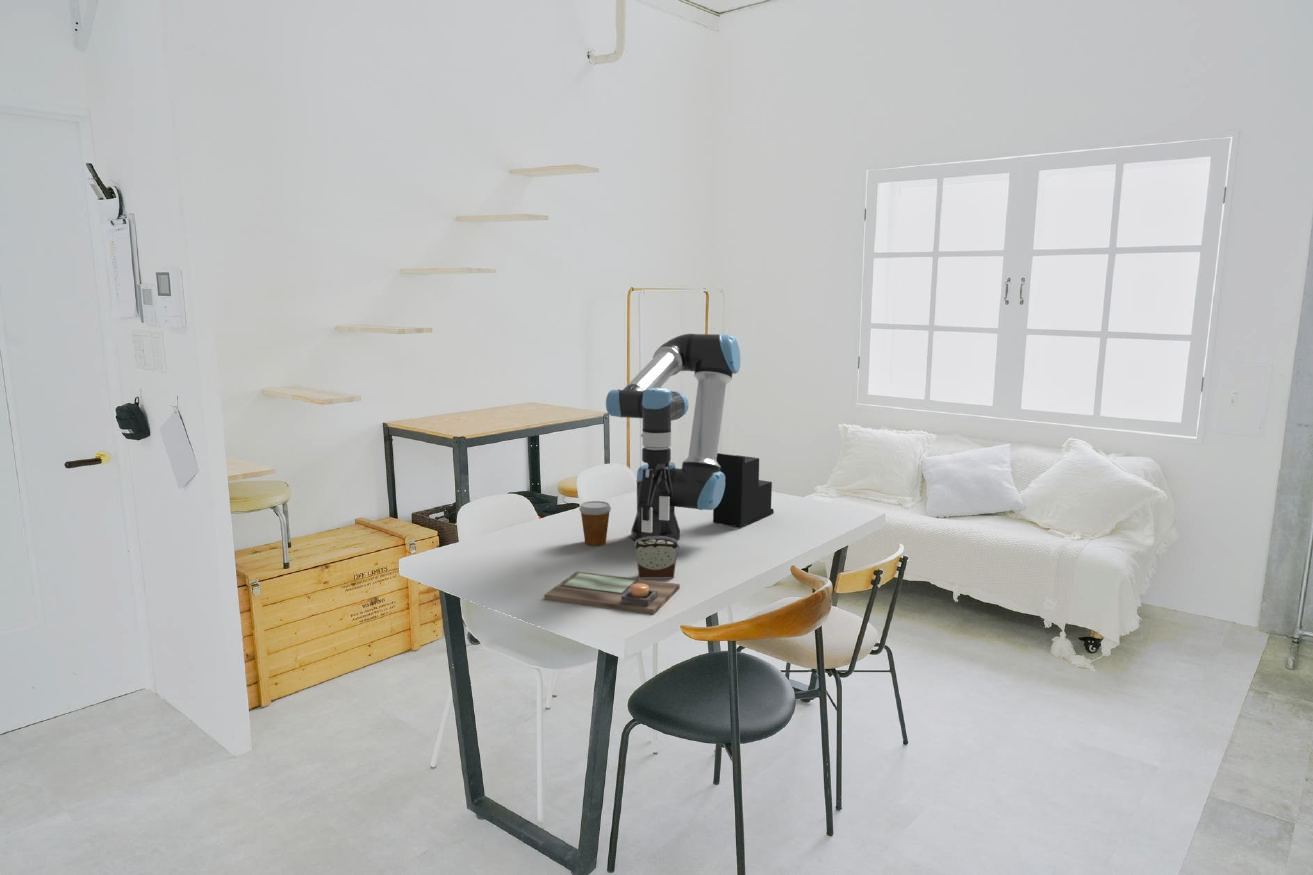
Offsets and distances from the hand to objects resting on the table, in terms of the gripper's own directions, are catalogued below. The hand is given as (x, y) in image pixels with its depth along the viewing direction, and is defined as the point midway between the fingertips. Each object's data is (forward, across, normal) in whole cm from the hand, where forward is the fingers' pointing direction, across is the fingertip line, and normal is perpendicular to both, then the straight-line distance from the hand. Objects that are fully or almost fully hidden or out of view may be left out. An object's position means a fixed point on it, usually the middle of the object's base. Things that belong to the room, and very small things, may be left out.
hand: (655, 525), depth 233 cm
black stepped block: (+13, -65, +8) cm, 67 cm away
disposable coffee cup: (+14, -22, -27) cm, 37 cm away
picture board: (+14, +17, -5) cm, 23 cm away
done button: (+11, +22, +4) cm, 25 cm away
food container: (+14, -1, 0) cm, 14 cm away
